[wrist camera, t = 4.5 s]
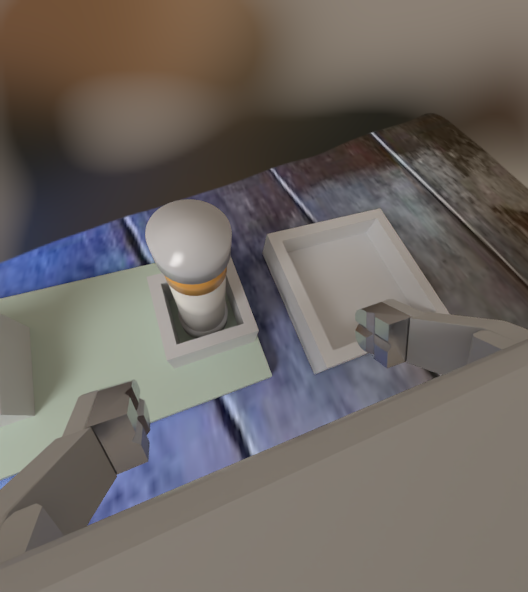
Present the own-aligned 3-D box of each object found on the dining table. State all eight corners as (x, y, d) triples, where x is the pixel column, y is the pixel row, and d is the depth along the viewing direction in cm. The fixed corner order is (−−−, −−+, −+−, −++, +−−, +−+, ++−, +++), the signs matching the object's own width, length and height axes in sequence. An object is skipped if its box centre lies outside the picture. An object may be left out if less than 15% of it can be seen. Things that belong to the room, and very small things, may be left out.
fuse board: (270, 377, 21) (279, 369, 18) (-84, 512, 16) (-176, 540, 12) (224, 253, 26) (224, 225, 22) (-70, 322, 20) (-135, 300, 16)
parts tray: (428, 329, 25) (452, 318, 22) (314, 374, 22) (327, 368, 19) (365, 227, 29) (380, 208, 27) (262, 253, 26) (267, 234, 23)
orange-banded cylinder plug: (233, 331, 22) (242, 256, 12) (187, 346, 21) (155, 277, 11) (219, 292, 23) (217, 193, 13) (176, 304, 22) (137, 207, 12)
